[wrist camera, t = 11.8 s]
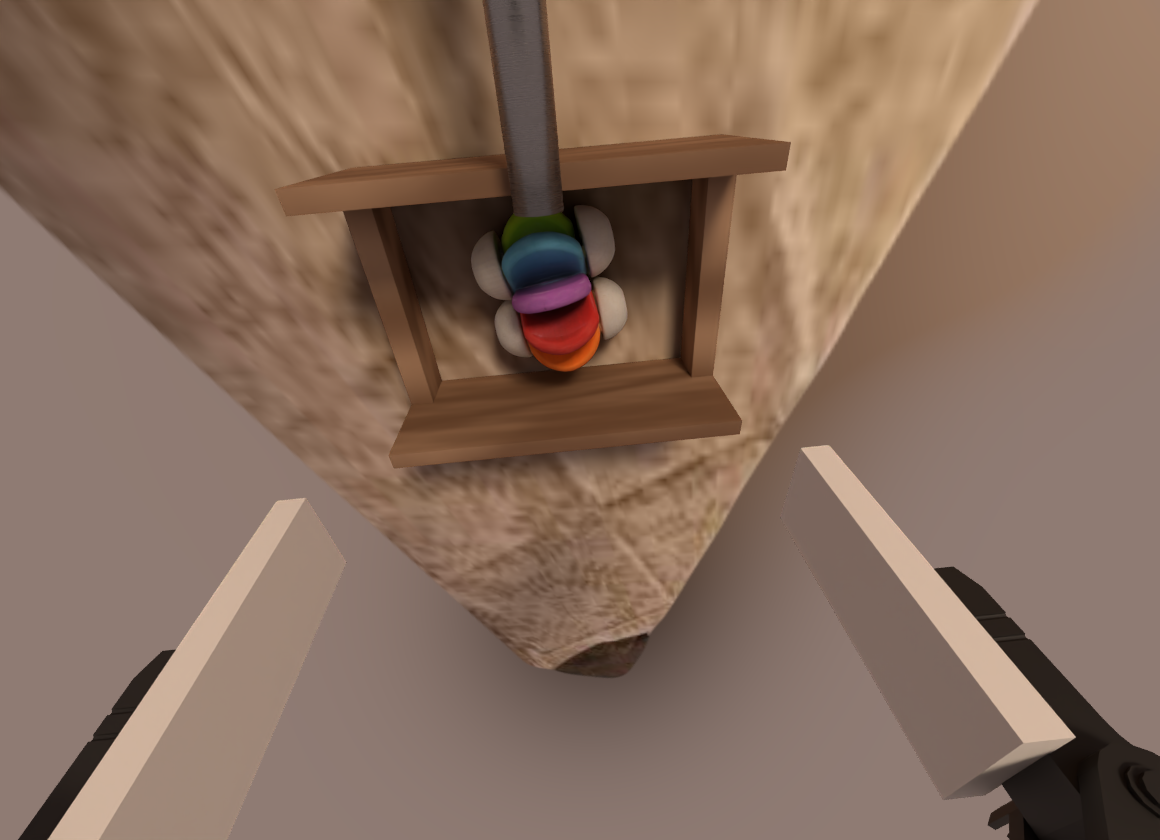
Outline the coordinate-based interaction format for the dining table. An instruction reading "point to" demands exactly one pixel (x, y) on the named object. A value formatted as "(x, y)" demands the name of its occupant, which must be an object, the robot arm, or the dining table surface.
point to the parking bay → (549, 398)
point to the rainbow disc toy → (552, 286)
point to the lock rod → (526, 103)
